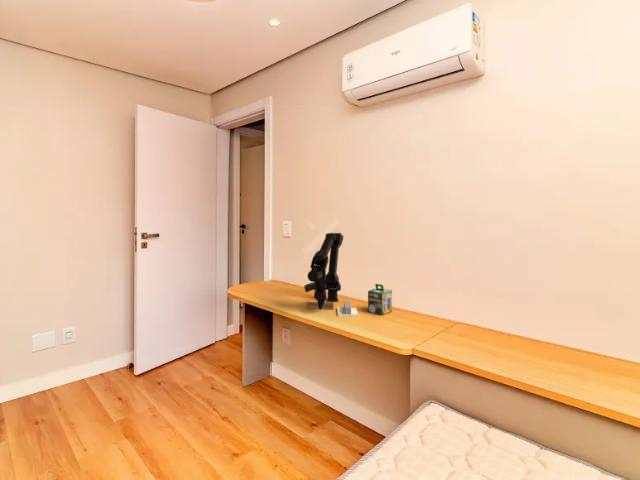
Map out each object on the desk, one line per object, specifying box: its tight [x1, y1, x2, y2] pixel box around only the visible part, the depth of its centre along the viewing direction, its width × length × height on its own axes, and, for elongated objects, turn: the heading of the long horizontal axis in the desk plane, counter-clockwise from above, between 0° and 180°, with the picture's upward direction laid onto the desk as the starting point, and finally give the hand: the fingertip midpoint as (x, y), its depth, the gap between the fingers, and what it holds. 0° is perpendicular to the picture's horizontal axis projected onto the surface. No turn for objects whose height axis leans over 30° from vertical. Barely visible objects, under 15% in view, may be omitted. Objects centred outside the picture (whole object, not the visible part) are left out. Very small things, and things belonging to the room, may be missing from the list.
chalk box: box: [367, 283, 393, 316], centre depth 183 cm, size 9×9×15 cm
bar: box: [306, 301, 334, 311], centre depth 188 cm, size 3×14×4 cm, turn 90°
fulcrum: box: [336, 300, 359, 317], centre depth 181 cm, size 12×10×4 cm
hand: (320, 306), depth 188 cm, fingers open, 9 cm apart
